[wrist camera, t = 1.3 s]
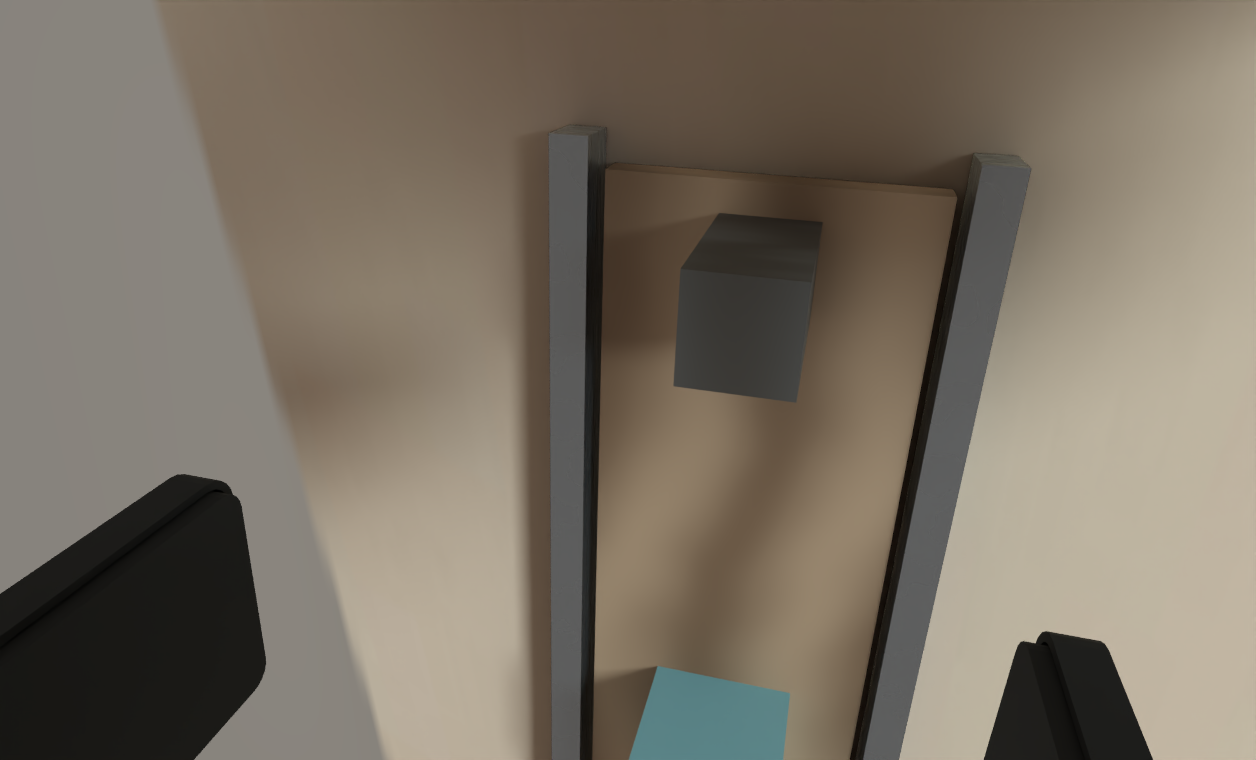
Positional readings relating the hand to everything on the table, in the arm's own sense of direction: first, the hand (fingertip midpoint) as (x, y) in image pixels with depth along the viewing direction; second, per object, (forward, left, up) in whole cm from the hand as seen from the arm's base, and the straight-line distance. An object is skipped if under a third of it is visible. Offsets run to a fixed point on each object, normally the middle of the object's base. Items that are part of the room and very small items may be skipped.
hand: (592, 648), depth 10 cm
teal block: (0, +19, -17) cm, 25 cm away
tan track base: (0, +13, -19) cm, 22 cm away
